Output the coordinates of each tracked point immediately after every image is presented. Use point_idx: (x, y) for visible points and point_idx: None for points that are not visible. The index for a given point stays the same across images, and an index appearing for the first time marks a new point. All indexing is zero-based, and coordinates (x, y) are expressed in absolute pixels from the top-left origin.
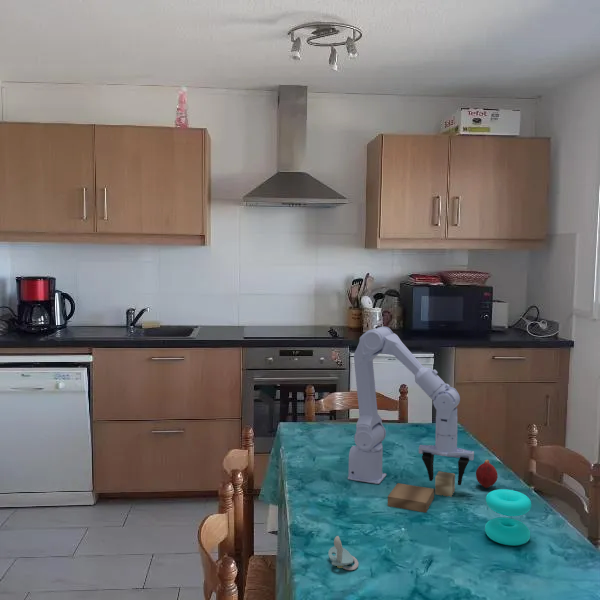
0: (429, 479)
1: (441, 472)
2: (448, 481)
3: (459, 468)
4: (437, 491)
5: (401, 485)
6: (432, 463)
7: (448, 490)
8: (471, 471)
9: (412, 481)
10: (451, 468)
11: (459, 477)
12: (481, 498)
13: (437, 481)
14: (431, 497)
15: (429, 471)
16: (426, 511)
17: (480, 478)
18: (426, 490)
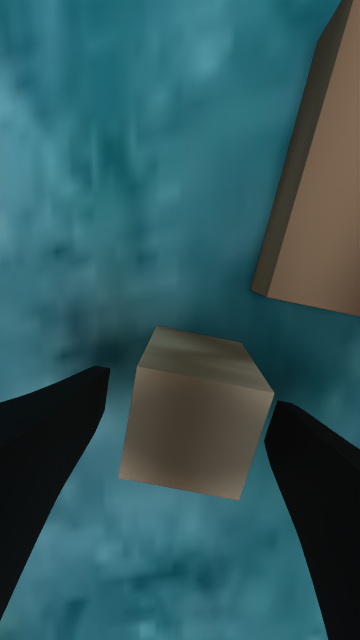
0: (297, 407)
1: (218, 482)
2: (169, 361)
3: (10, 428)
4: (232, 345)
5: None
6: (334, 558)
7: (172, 339)
8: (78, 600)
9: None
10: (156, 615)
11: (73, 383)
12: (13, 337)
13: (247, 372)
14: (283, 208)
15: (338, 443)
16: (316, 49)
17: None
18: (324, 256)
